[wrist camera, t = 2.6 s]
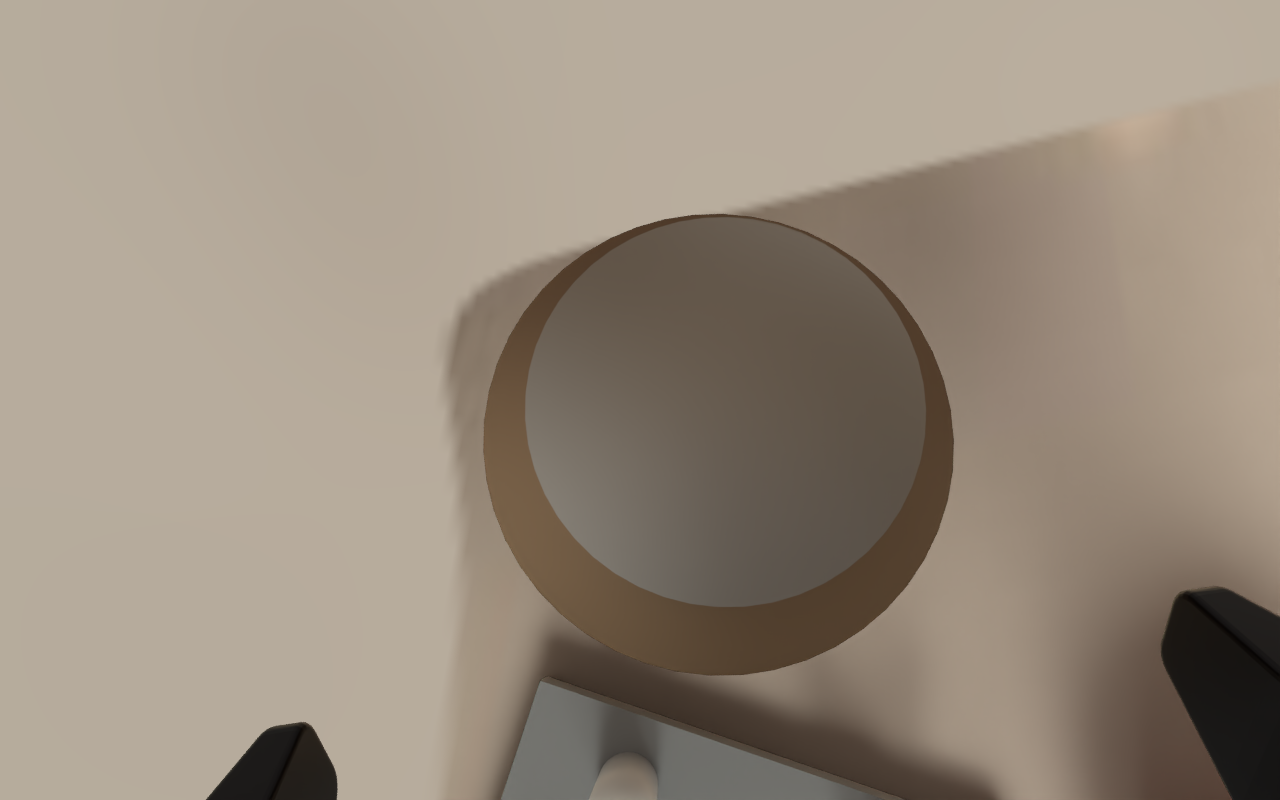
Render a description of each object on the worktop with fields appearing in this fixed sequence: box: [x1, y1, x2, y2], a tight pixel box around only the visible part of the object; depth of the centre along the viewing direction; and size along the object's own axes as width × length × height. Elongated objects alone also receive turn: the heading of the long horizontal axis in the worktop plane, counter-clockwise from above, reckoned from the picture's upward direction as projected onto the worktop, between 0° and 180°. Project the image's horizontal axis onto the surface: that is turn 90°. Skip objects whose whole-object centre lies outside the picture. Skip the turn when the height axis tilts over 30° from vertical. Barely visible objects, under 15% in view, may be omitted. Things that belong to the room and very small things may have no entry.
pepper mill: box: [483, 214, 954, 675], centre depth 13 cm, size 4×4×12 cm
